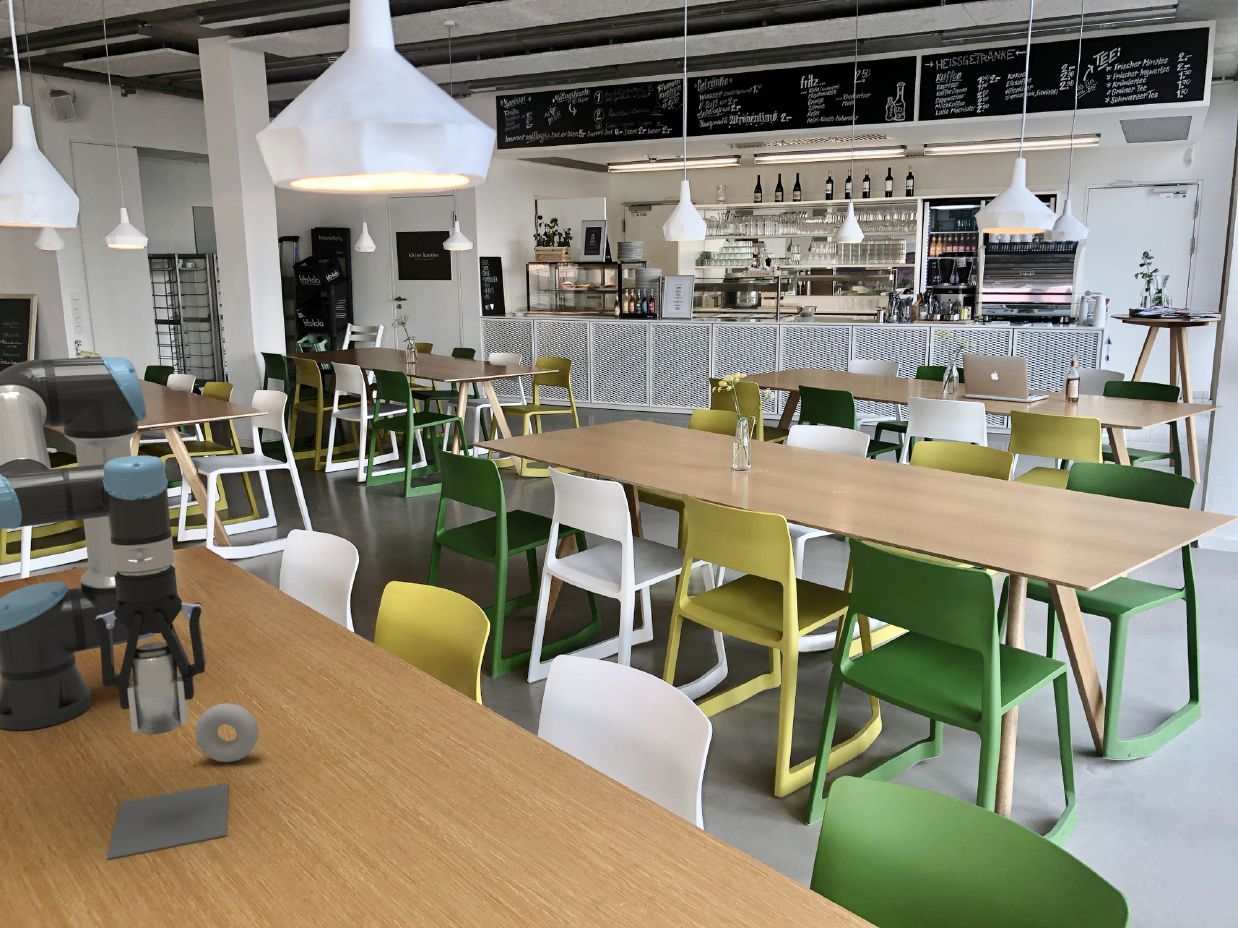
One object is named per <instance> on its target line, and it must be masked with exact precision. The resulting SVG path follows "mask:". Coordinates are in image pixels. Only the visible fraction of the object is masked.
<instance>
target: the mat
mask: <svg viewBox="0 0 1238 928" xmlns="http://www.w3.org/2000/svg"><path fill="white" fill-rule="evenodd" d="M228 806H229V782H227V783H222V784H216V785H211V786H205V787H204V786H203V787H199V788H194V789H187V790H182V791H178V792H177V791H176V792H172V793H166V794H161V795H160V794H159V795H155V796H150V797H149V796H148V797H143V798H138V799H134V800H133V799H132V800H126V801H122V802H121V801H120V803H119V808H118V813H117V816H116V820H115V824H114V828H113V832H112V836H111V839H110V840H111V841H110V844H109V847H108V848H109V849H108V852H107V856H106V860H107V861H110V860H114V859H119V858H124V857H130V856H134V855H141V854H145V853H149V852H155V851H158V850H159V851H160V850H164V849H169V848H174V847H180V846H184V845H185V846H186V845H189V844H194V843H199V842H205V841H209V840H215V839H219V838H220V839H221V838H224V837H227V832H228V829H227V827H228V812H229V811H228V808H229V807H228Z"/></svg>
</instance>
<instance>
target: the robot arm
mask: <svg viewBox="0 0 1238 928" xmlns="http://www.w3.org/2000/svg"><path fill="white" fill-rule="evenodd" d="M145 401H146V400H145V397H144V393H143V390H142V385H141V382H140V379H139V376H138V373H137V370H136V368H135V366H134V364H133V363H132V362H131V360H129V359H127V358H125V357H116V356H115V357H114V356H91V357H90V356H89V357H86V356H85V357H72V358H71V357H69V358H68V357H66V358H52V359H44V358H43V359H42V358H41V359H31V360H25V361H21V362H19V363H15V364H13V365H11V366H8V367H6V368H5V369H3V370H2V371H0V530H1V529H2V530H3V529H11V530H14V529H18V528H24V527H30V526H38V525H47V524H54V523H55V524H56V523H61V522H70V521H79V520H83V526H84V527H83V528H84V534H85V546H86V554H87V564H88V569H87V570H86V571H85V572H84V573H83V574H82V575H81V576H80V586H79V587H75V588H69V586H68V585H67V584H66V583H65V582H64V581H52V582H51V581H44V582H40V583H36V584H31V585H28V586H24V587H21V588H18V589H16V590H13V591H10V592H8V593H7V594H5V595H3V596H2V597H0V728H1V729H4V730H9V731H28V730H36V729H41V728H46V727H51V726H54V725H59V724H61V723H64V722H67V721H70V720H71V719H74V718H76V717H78V716H80V715H81V714H83V713H85V711H87V710H88V709H89V708H90V707H91V705H92V696H91V695H92V694H91V689H90V688H89V686H88V684H87V682H86V681H85V679H84V677H83V675H82V673H81V671H80V669H79V668H78V666H77V661H76V653H78V652H83V651H84V652H85V651H88V650H89V651H90V650H93V649H99V648H100V661H101V663H100V665H101V680H102V685H103V686H104V687H115V688H117V690H118V695H119V704H120V708H121V709H122V710H128V709H129V717H130V727H131V733H137V732H139V724H138V715H137V706H136V697H135V687H134V680H133V681H130V678H131V674H132V671H133V669H132V663H133V658H134V655H135V652H136V648H138V642H139V641H140V640H145V639H147V638H148V639H149V638H152V637H154V636H155V635H157V634H161V636H162V638H163V640H164V642H166V643H167V645H168V647H169V650H170V652H171V654H172V656H173V658H174V660H175V663H176V665H177V670H178V672H179V673H180V674H178V680H177V687H178V698H179V708H180V718H181V725H180V726H183V725H187V724H188V719H189V712H188V711H189V710H188V701H187V700H193V699H194V695H195V687H194V686H195V685H194V677H195V676H196V675H198V674H199V675H200V674H203V673H204V672H205V670H206V657H205V651H204V650H205V649H204V643H203V636H202V630H201V629H202V628H201V622H200V618H201V614H202V610H203V605H202V603H201V602H195V603H194V604H193V603H189V602H188V603H187V602H183V600H182V599H181V598H180V596H179V594H178V587H177V584H178V583H177V575H176V568H175V566H173V565H172V564H173V563H174V562H175V555H174V553H175V552H174V546H173V535H172V529H171V518H170V508H169V506H170V505H169V494H168V492H169V491H168V485H169V480H168V477H167V475H166V468H165V463H164V461H163V460H162V458H160V457H158V456H151V455H132V453H131V452H132V451H131V450H132V449H131V440H132V439H133V438H134V437H135V436H136V434H137V433H138V432H139V427H138V426H139V425H138V423H139V422H141V423H142V422H143V421H145V420H146V419H147V409H146V402H145ZM49 427H50V428H53V427H63V434H64V437H65V438H67V439H68V440H69V441H71V442H72V443H74V445H75V451H76V462H77V466H73V467H72V466H71V467H61V468H52V466H51V462H50V461H51V460H50V456H49V451H48V446H47V442H46V437H45V432H44V428H49ZM181 612H182V613H183V614H184V619H185V620H189V623H188V626H189V634H190V642H191V649H192V657H193V662H194V663H191V662H190V660H189V658H188V656H187V653H186V651H185V650H184V647H183V645H182V642H181V641H180V639H179V638H180V637H179V636H178V633H177V631H176V628H175V625H174V623H173V622H174V621H175V620H176V618H177V617H178V615H179V614H180V613H181ZM122 644H126V647H125V649H124V654H123V659H122V664H121V669H120V673H119V674H118V673H115V672H116V671H115V658H114V657H115V655H114V646H115V645H122Z"/></svg>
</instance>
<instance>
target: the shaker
mask: <svg viewBox="0 0 1238 928" xmlns="http://www.w3.org/2000/svg"><path fill="white" fill-rule="evenodd" d="M178 672H179V670H178V667H177V665H176V663H175V660H174V658H173V656H172V654H171V652H170V650H169V647H168V645H167V643H166V641H153V642H148V643H144V644H142V645H139V646H137V648H136V652H135V655H134V658H133V663H132V676H133V677H132V678H133V681H134V687H135V697H136V706H137V715H138V724H139V730H138V732H140V733H141V734H144V735H150V736H151V735H152V736H153V735H160V734H161V735H162V734H165V733H169V732H171V731H173V730H176V729H177V728H179V727H181V726H182V725H181V718H180V708H179V698H178V687H177V680H178V675H179V673H178Z"/></svg>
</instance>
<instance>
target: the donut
mask: <svg viewBox="0 0 1238 928" xmlns="http://www.w3.org/2000/svg"><path fill="white" fill-rule="evenodd" d="M222 725H228V726H230V727H232V728H233V729H234V730H235V733H236V737H235V739H233V740H225V739H223V738H222V737H221V736H220V734H219V732H218V731H219V730H218V729H219V727H221V726H222ZM194 735H195V739H196V743H197V746H198V748H199V749H200V750H201V751H202V753H203V754H204V755H206V756H207V757H208V758H210V759H212V760H214V761H216V762H222V763H231V762H232V763H233V762H237V761H240V760H242V759H243V758H245V757H247V756H248V755H249V754H250V753H251V752H252V751H253V750H254V748H255V746H256V744H257V742H258V740H259V739H258V738H259V727H258V722H257V720H256V719H255V717H254V716H253V714H252V713H251V712H250V711H249V710H248V709H247V708H245V707H243V706H241V705H239V704H234V703H229V702H224V703H219V704H215V705H213V706H211V707H210V708H207V709H206V710H205V711H204V712H203V713H202V714H201V715H200V717H199V719H198V721H197V723H196V725H195V734H194Z"/></svg>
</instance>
